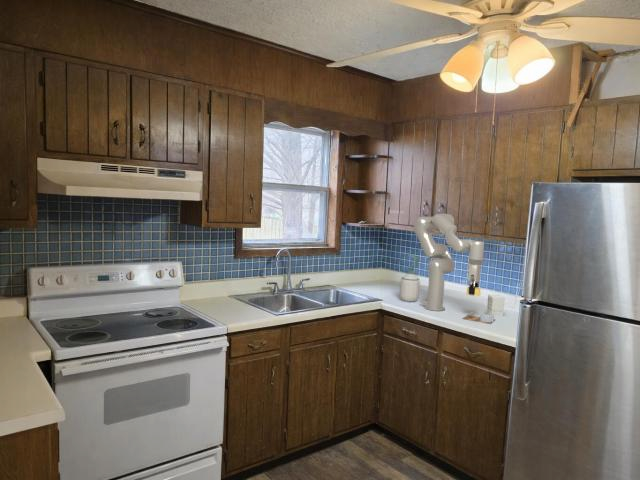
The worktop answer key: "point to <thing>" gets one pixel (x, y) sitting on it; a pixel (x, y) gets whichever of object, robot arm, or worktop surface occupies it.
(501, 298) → the supplement box
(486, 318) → the slate gear
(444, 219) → the robot arm
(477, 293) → the ochre gear
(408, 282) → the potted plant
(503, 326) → the worktop surface
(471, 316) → the gear board
